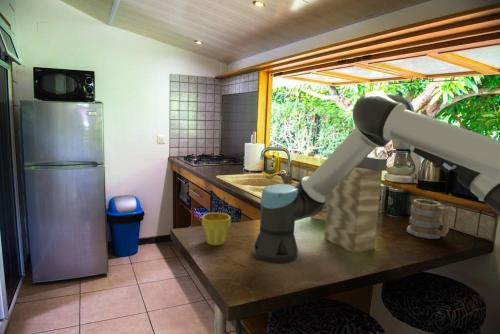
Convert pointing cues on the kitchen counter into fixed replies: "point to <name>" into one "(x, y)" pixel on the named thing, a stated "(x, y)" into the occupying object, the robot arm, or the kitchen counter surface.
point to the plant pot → (215, 227)
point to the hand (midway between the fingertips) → (418, 132)
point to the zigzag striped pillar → (354, 210)
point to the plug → (373, 163)
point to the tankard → (428, 219)
